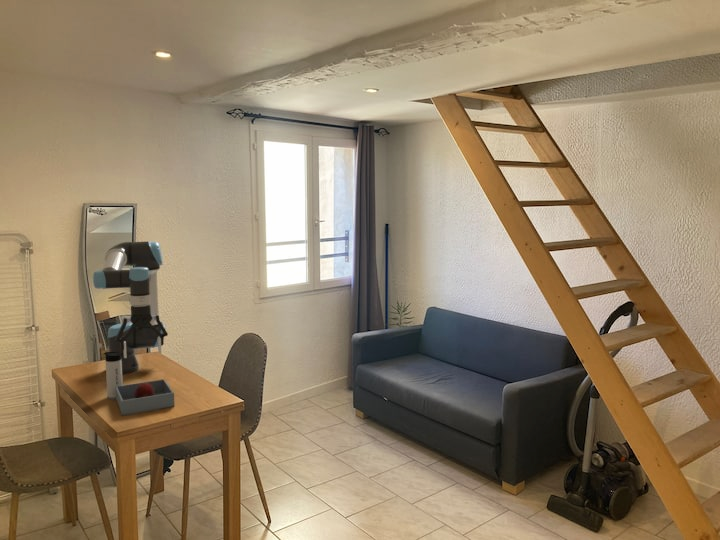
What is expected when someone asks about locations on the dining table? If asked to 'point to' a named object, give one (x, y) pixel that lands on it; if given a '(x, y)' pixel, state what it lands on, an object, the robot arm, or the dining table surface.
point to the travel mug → (113, 373)
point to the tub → (144, 398)
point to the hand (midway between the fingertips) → (142, 355)
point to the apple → (144, 391)
